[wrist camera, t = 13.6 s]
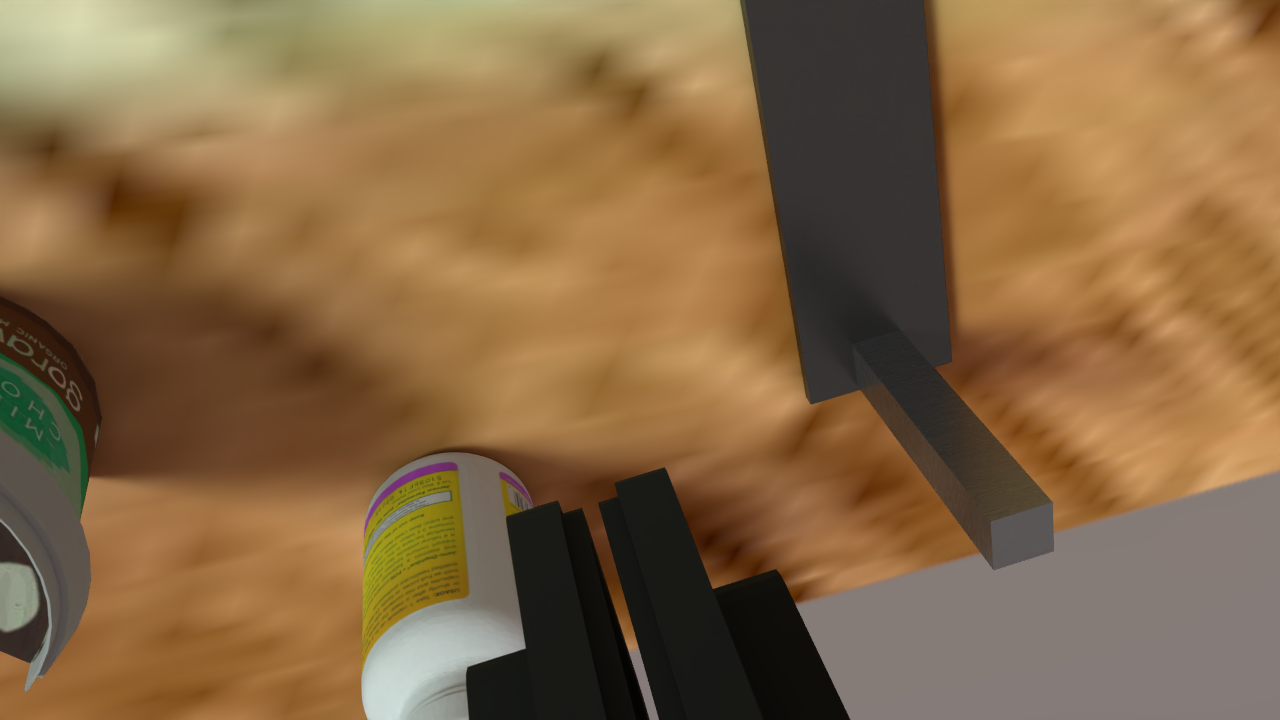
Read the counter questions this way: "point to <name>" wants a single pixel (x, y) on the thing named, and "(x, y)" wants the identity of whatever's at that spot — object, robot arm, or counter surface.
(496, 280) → the counter surface
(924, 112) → the gate frame
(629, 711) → the robot arm
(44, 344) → the food container
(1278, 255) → the counter surface
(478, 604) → the supplement bottle
